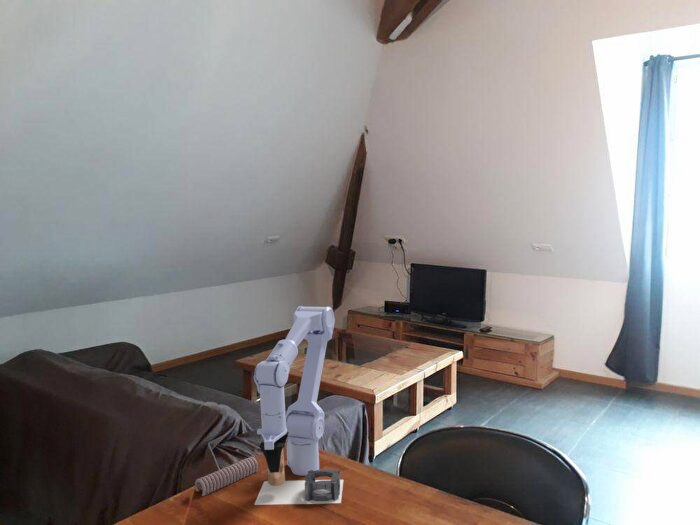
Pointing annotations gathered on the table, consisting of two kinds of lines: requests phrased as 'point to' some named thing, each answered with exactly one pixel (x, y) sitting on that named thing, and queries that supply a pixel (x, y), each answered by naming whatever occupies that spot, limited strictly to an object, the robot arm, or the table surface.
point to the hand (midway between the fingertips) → (276, 467)
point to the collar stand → (322, 485)
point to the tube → (277, 473)
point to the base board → (291, 494)
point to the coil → (226, 475)
